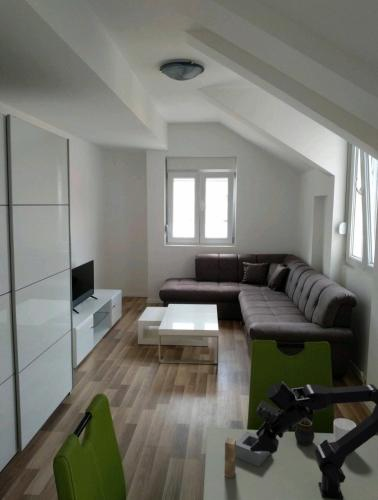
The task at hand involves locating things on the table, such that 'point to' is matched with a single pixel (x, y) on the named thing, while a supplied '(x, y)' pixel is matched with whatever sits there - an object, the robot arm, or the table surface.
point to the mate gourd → (304, 432)
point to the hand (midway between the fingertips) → (254, 442)
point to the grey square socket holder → (245, 452)
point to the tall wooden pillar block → (230, 457)
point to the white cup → (342, 427)
